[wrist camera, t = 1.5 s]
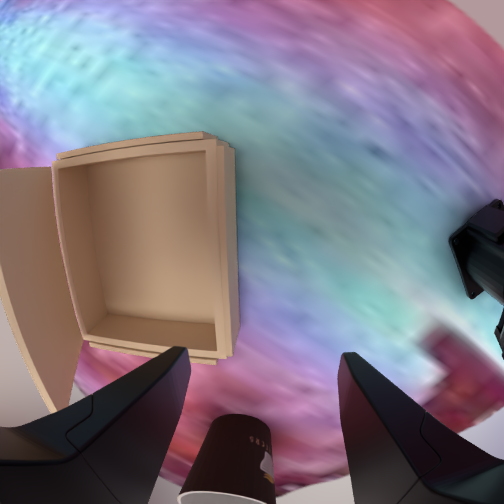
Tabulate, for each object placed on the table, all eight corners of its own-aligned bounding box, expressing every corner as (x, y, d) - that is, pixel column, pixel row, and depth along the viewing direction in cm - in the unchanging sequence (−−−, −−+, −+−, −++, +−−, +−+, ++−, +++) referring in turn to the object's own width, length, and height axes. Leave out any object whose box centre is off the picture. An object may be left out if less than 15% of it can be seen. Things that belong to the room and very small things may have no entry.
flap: (51, 166, 16) (-13, 170, 8) (83, 340, 20) (65, 424, 11) (43, 168, 16) (-23, 173, 7) (76, 341, 19) (56, 424, 11)
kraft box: (235, 136, 19) (223, 129, 15) (240, 333, 23) (233, 366, 19) (83, 153, 20) (50, 155, 16) (107, 321, 24) (83, 345, 20)
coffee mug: (196, 402, 26) (168, 482, 17) (284, 410, 26) (281, 497, 16) (206, 460, 30) (189, 524, 20) (276, 466, 29) (271, 533, 20)
